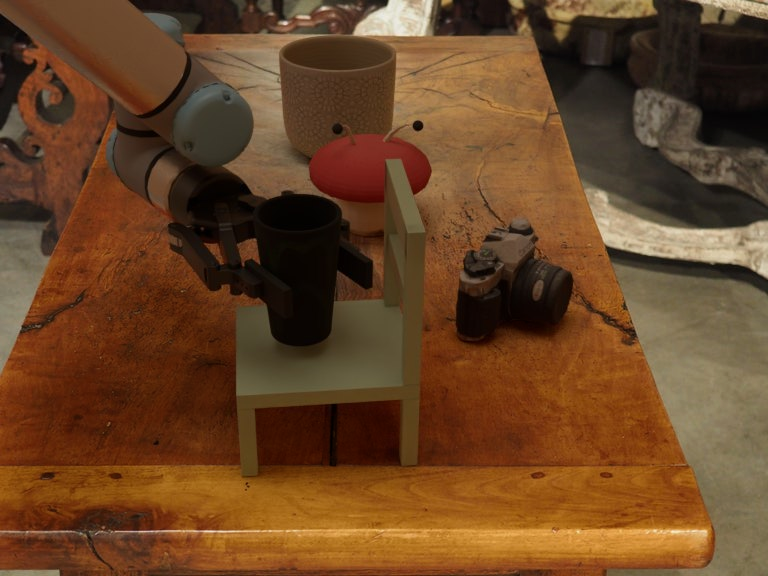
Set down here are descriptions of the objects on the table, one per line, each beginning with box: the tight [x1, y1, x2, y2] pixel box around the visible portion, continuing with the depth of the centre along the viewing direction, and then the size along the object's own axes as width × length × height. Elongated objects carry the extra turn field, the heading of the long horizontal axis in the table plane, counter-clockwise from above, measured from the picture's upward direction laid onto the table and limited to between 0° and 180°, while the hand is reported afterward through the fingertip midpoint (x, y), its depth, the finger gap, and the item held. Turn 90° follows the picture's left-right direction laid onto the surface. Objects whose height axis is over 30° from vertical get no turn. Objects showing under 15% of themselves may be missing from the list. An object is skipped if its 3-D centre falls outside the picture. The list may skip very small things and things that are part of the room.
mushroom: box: [308, 119, 433, 237], centre depth 137 cm, size 16×16×15 cm
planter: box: [278, 34, 397, 159], centre depth 158 cm, size 17×17×15 cm
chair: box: [235, 159, 427, 478], centre depth 98 cm, size 16×15×24 cm
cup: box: [253, 193, 342, 346], centre depth 95 cm, size 8×8×12 cm
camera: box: [455, 217, 574, 342], centre depth 118 cm, size 16×10×10 cm, turn 150°
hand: (329, 289), depth 92 cm, fingers closed on cup, 8 cm apart
